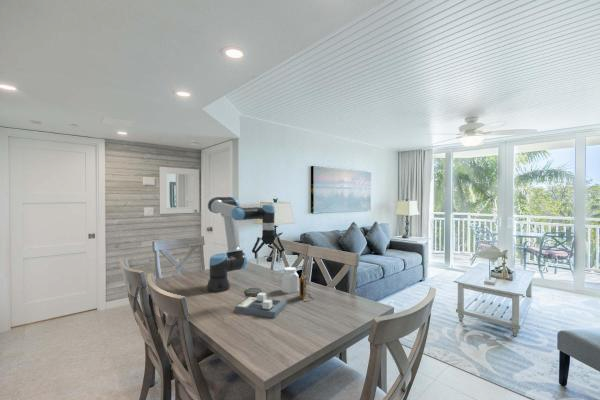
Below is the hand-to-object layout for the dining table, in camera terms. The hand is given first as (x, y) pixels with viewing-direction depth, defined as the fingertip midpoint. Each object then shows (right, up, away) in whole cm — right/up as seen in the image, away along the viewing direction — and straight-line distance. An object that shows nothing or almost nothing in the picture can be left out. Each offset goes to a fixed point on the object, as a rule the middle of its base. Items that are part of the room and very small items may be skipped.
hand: (268, 263), depth 175 cm
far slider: (-2, -19, -13) cm, 23 cm away
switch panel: (-2, -22, -17) cm, 28 cm away
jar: (+13, -22, +14) cm, 29 cm away
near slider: (+2, -19, -24) cm, 30 cm away
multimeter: (+25, -22, +1) cm, 34 cm away
